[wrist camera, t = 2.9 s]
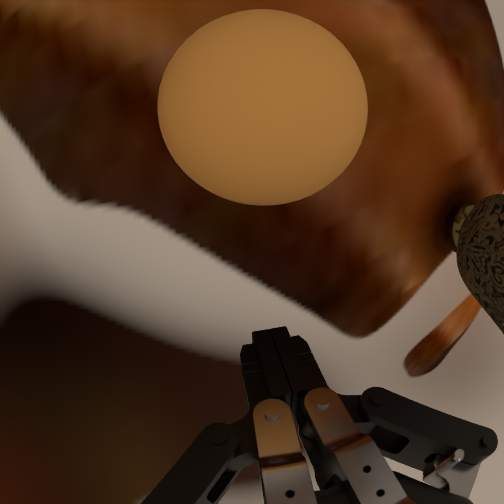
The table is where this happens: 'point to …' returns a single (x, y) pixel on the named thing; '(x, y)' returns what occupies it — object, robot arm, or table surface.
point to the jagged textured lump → (480, 250)
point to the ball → (262, 107)
